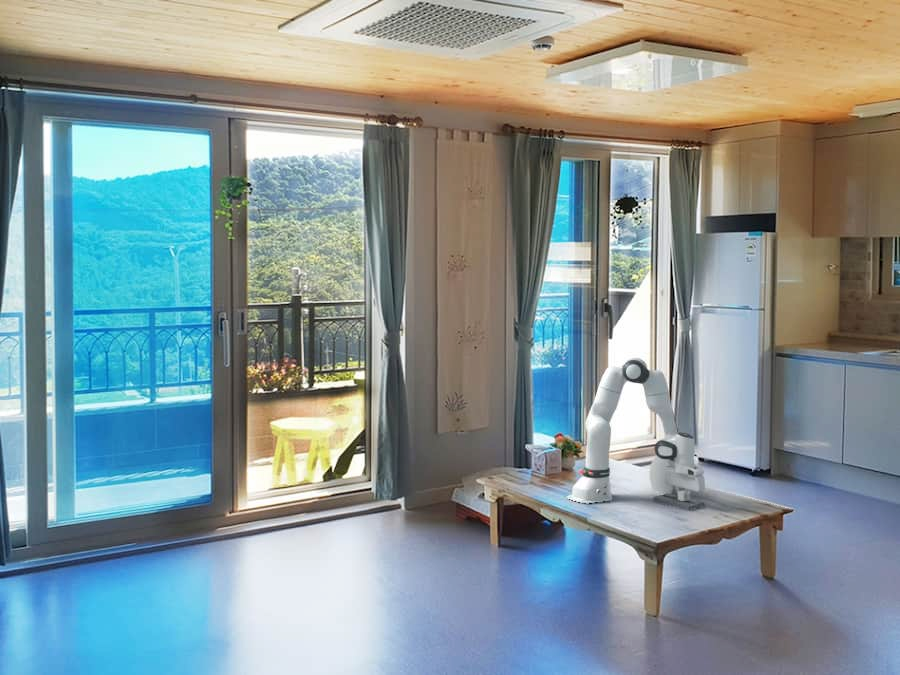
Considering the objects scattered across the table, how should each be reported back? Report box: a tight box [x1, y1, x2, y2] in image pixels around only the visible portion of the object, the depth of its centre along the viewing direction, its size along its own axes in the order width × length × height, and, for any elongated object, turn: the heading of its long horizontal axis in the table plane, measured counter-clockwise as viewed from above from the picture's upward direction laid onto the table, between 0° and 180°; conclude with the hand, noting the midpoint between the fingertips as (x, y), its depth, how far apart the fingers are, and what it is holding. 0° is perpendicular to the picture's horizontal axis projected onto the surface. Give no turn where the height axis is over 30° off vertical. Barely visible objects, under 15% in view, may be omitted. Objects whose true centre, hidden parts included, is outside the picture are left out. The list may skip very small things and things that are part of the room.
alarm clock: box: [649, 455, 686, 495], centre depth 423 cm, size 21×8×20 cm, turn 18°
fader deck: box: [652, 493, 706, 511], centre depth 406 cm, size 12×20×2 cm, turn 38°
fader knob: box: [678, 489, 690, 501], centre depth 403 cm, size 5×3×5 cm, turn 128°
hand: (683, 497), depth 403 cm, fingers closed on fader knob, 3 cm apart
